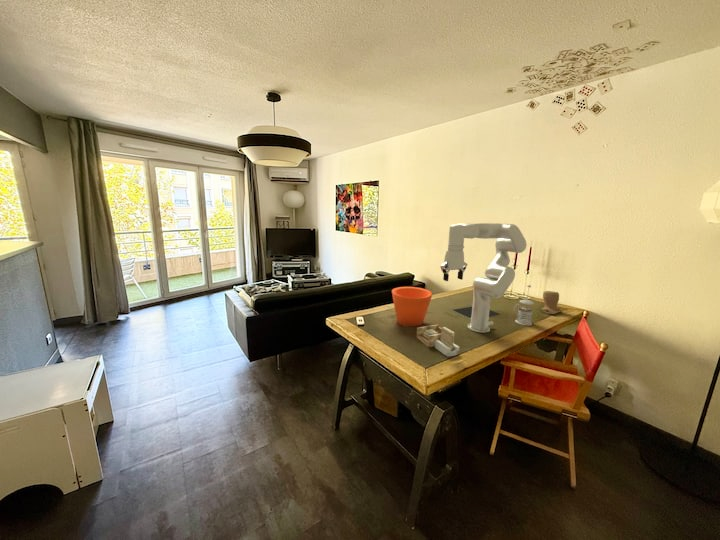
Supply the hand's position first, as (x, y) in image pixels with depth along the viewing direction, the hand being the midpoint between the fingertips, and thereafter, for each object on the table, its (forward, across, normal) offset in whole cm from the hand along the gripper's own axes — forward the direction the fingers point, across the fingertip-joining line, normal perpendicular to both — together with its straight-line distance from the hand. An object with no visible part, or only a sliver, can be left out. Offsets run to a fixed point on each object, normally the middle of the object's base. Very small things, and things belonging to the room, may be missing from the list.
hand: (452, 279), depth 145 cm
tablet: (+34, -45, -24) cm, 61 cm away
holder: (+33, +13, +14) cm, 38 cm away
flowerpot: (+33, +9, -25) cm, 43 cm away
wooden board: (+33, +13, +14) cm, 38 cm away
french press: (+34, -60, 0) cm, 69 cm away
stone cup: (+34, -97, -6) cm, 104 cm away
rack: (+33, +12, +3) cm, 35 cm away
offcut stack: (+32, +14, +2) cm, 35 cm away
